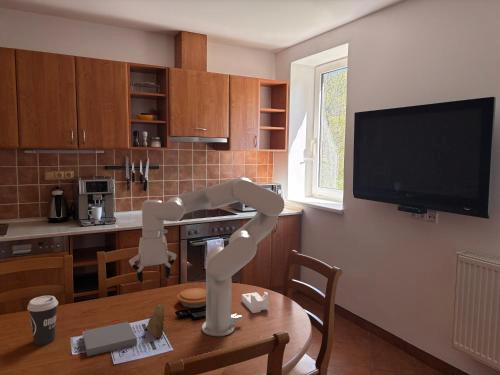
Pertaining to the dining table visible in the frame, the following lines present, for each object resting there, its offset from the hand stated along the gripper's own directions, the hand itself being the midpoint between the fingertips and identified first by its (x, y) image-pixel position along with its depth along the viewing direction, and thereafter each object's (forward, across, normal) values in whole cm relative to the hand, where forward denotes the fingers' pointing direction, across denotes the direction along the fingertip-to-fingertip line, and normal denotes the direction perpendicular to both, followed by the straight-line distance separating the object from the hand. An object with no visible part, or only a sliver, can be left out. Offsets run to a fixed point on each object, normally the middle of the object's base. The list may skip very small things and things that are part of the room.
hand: (153, 279), depth 138 cm
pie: (+21, -23, -18) cm, 36 cm away
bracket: (+21, -45, -3) cm, 50 cm away
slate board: (+20, +16, -1) cm, 26 cm away
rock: (+21, 0, 0) cm, 21 cm away
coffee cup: (+20, +36, -12) cm, 43 cm away
